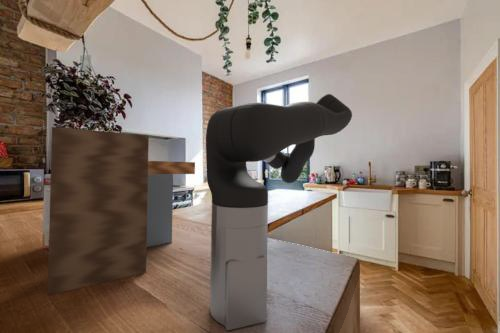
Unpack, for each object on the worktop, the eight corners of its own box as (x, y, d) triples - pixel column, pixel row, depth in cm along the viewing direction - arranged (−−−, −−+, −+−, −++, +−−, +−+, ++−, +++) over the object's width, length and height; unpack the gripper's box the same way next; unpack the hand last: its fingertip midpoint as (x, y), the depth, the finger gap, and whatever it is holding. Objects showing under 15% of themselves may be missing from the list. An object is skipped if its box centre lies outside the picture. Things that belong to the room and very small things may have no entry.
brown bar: (190, 173, 79) (190, 162, 79) (194, 174, 75) (194, 162, 76) (111, 173, 65) (111, 160, 65) (111, 174, 62) (112, 159, 62)
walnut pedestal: (139, 257, 57) (141, 140, 57) (145, 272, 48) (148, 135, 49) (56, 273, 48) (59, 133, 48) (47, 295, 39) (51, 126, 40)
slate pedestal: (163, 234, 76) (165, 173, 77) (171, 242, 68) (173, 174, 68) (108, 242, 67) (110, 173, 68) (110, 253, 59) (112, 174, 59)
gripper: (256, 142, 92) (226, 117, 84) (279, 138, 80) (247, 109, 72) (248, 157, 90) (217, 134, 82) (270, 156, 78) (236, 128, 70)
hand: (231, 122), depth 77 cm, fingers open, 8 cm apart
